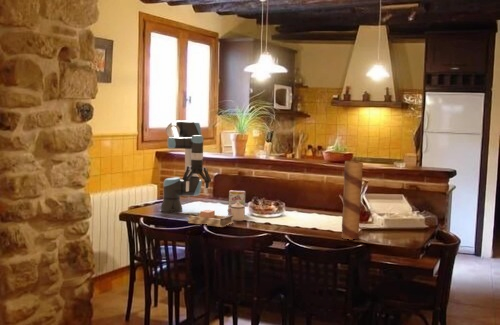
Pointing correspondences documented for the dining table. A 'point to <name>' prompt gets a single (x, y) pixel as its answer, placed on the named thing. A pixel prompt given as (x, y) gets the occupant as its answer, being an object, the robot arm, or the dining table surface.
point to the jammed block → (207, 214)
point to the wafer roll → (351, 199)
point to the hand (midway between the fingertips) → (196, 192)
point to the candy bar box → (236, 198)
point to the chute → (212, 220)
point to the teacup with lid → (237, 211)
